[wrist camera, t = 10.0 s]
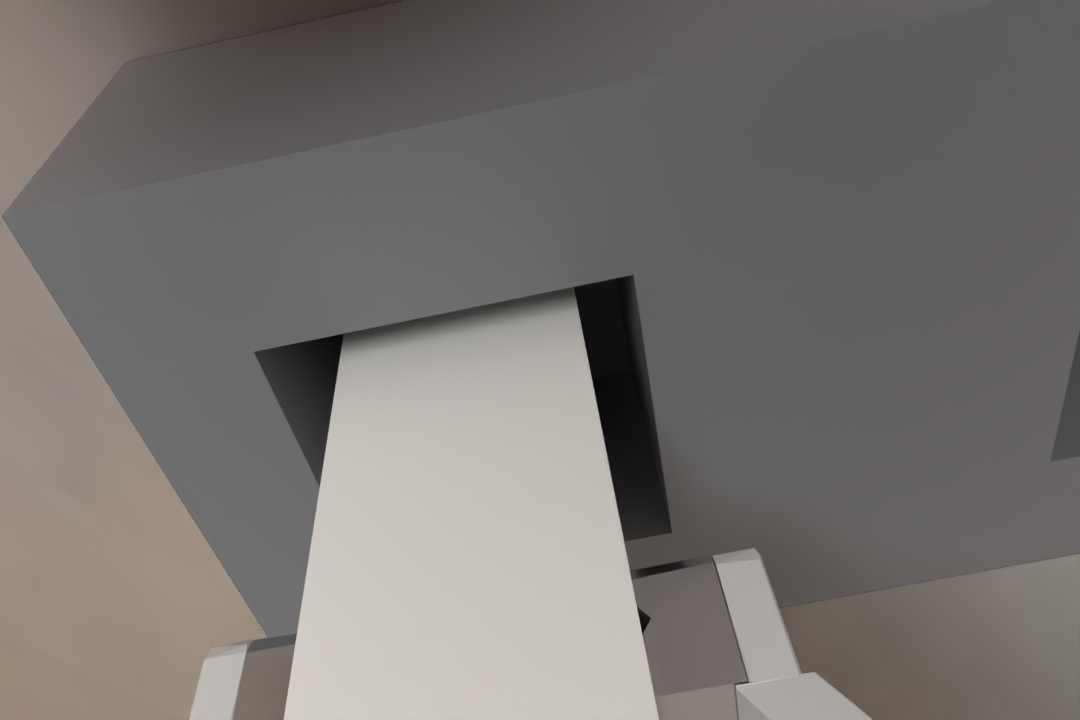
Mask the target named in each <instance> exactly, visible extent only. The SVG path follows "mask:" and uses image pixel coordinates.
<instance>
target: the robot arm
mask: <svg viewBox="0 0 1080 720" xmlns="http://www.w3.org/2000/svg"><path fill="white" fill-rule="evenodd" d="M630 574H631V579H632V585H633V590H634V595H635V600H636V605H637V610H638V615H639V620H640V625H641V630H642V635H643V640H644V645H645V650H646V655H647V660H648V665H649V670H650V676H651V681H652V686H653V691H654V696H655V701H656V706H657V711H658V716H659V720H873V719H872V718H871V717H870V716H869V715H867V714H866V713H865V712H864V711H863V710H861V709H860V708H859V707H858V706H856V705H855V704H854V703H853V702H852V701H850V700H849V699H848V698H847V697H846V696H844V695H843V694H842V693H841V692H839V691H838V690H837V689H836V688H835V687H833V686H832V685H831V684H830V683H829V682H827V681H826V680H825V679H824V678H822V677H821V676H820V675H819V674H818V673H816V672H809V673H801V670H800V667H799V664H798V661H797V658H796V655H795V652H794V650H793V647H792V644H791V641H790V638H789V635H788V632H787V630H786V627H785V624H784V621H783V618H782V615H781V612H780V609H779V607H778V604H777V601H776V598H775V595H774V592H773V589H772V586H771V584H770V581H769V578H768V575H767V572H766V569H765V566H764V564H763V561H762V558H761V555H760V554H759V553H758V551H757V550H756V549H755V548H750V549H744V550H739V551H734V552H729V553H724V554H719V555H714V556H712V557H710V555H707V556H702V557H697V558H692V559H687V560H682V561H677V562H672V563H667V564H662V565H657V566H652V567H647V568H642V569H637V570H632V571H630ZM296 637H297V634H290V635H284V636H278V637H272V638H265V639H259V640H252V641H247V642H241V643H236V644H230V645H224V646H219V647H213V648H212V649H211V650H210V652H209V654H208V655H207V657H206V659H205V660H204V662H203V665H202V669H201V673H200V677H199V681H198V685H197V689H196V693H195V697H194V701H193V705H192V709H191V713H190V717H189V720H284V714H285V707H286V701H287V695H288V688H289V682H290V675H291V669H292V663H293V656H294V650H295V643H296Z"/></svg>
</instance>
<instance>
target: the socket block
mask: <svg viewBox="0 0 1080 720" xmlns="http://www.w3.org/2000/svg"><path fill="white" fill-rule="evenodd" d="M2 218H3V219H4V221H5V222H6V224H7V226H8V227H9V229H10V230H11V232H12V233H13V235H14V237H15V238H16V240H17V241H18V243H19V244H20V246H21V248H22V249H23V251H24V252H25V254H26V256H27V257H28V259H29V260H30V262H31V263H32V265H33V267H34V268H35V270H36V271H37V273H38V275H39V276H40V278H41V279H42V281H43V282H44V284H45V286H46V287H47V289H48V290H49V292H50V294H51V295H52V297H53V298H54V300H55V301H56V303H57V305H58V306H59V308H60V309H61V311H62V312H63V314H64V316H65V317H66V319H67V320H68V322H69V324H70V325H71V327H72V328H73V330H74V331H75V333H76V335H77V336H78V338H79V339H80V341H81V343H82V344H83V346H84V347H85V349H86V350H87V352H88V354H89V355H90V357H91V358H92V360H93V362H94V363H95V365H96V366H97V368H98V369H99V371H100V373H101V374H102V376H103V377H104V379H105V380H106V382H107V384H108V385H109V387H110V388H111V390H112V392H113V393H114V395H115V396H116V398H117V399H118V401H119V403H120V404H121V406H122V407H123V409H124V411H125V412H126V414H127V415H128V417H129V418H130V420H131V422H132V423H133V425H134V426H135V428H136V430H137V431H138V433H139V434H140V436H141V437H142V439H143V441H144V442H145V444H146V445H147V447H148V448H149V450H150V452H151V453H152V455H153V456H154V458H155V460H156V461H157V463H158V464H159V466H160V467H161V469H162V471H163V472H164V474H165V475H166V477H167V479H168V480H169V482H170V483H171V485H172V486H173V488H174V490H175V491H176V493H177V494H178V496H179V497H180V499H181V501H182V502H183V504H184V505H185V507H186V509H187V510H188V512H189V513H190V515H191V516H192V518H193V520H194V521H195V523H196V524H197V526H198V528H199V529H200V531H201V532H202V534H203V535H204V537H205V539H206V540H207V542H208V543H209V545H210V547H211V548H212V550H213V551H214V553H215V554H216V556H217V558H218V559H219V561H220V562H221V564H222V565H223V567H224V569H225V570H226V572H227V573H228V575H229V577H230V578H231V580H232V581H233V583H234V584H235V586H236V588H237V589H238V591H239V592H240V594H241V596H242V597H243V599H244V600H245V602H246V603H247V605H248V607H249V608H250V610H251V611H252V613H253V615H254V616H255V618H256V619H257V621H258V622H259V624H260V626H261V627H262V629H263V630H264V632H265V633H266V635H267V637H268V638H272V637H278V636H284V635H290V634H297V630H298V624H299V618H300V611H301V605H302V598H303V592H304V585H305V579H306V573H307V566H308V560H309V553H310V547H311V541H312V534H313V528H314V521H315V515H316V508H317V502H318V496H319V489H320V483H321V476H322V470H323V463H324V457H325V451H326V444H327V438H328V431H329V425H330V419H331V412H332V406H333V399H334V393H335V386H336V380H337V374H338V367H339V361H340V354H341V348H342V341H343V335H344V333H349V332H354V331H359V330H364V329H369V328H374V327H379V326H384V325H389V324H394V323H399V322H404V321H408V320H413V319H418V318H423V317H428V316H433V315H438V314H443V313H448V312H453V311H458V310H463V309H468V308H472V307H477V306H482V305H487V304H492V303H497V302H502V301H507V300H512V299H517V298H522V297H527V296H532V295H537V294H541V293H546V292H551V291H556V290H561V289H566V288H571V287H574V291H575V296H576V301H577V306H578V311H579V316H580V321H581V326H582V331H583V336H584V341H585V346H586V351H587V356H588V361H589V366H590V371H591V376H592V381H593V386H594V391H595V396H596V401H597V406H598V411H599V416H600V421H601V426H602V431H603V436H604V442H605V447H606V452H607V457H608V462H609V467H610V472H611V477H612V482H613V487H614V492H615V497H616V502H617V507H618V512H619V517H620V522H621V527H622V532H623V537H624V542H625V547H626V553H627V558H628V563H629V568H630V571H632V570H637V569H642V568H647V567H652V566H657V565H662V564H667V563H672V562H677V561H682V560H687V559H692V558H697V557H702V556H707V555H710V557H712V556H714V555H719V554H724V553H729V552H734V551H739V550H744V549H750V548H755V549H756V550H757V551H758V553H759V554H760V555H761V558H762V561H763V564H764V566H765V569H766V572H767V575H768V578H769V581H770V584H771V586H772V589H773V592H774V595H775V598H776V601H777V604H778V607H779V608H783V607H789V606H794V605H800V604H805V603H811V602H816V601H822V600H827V599H833V598H838V597H844V596H849V595H855V594H860V593H866V592H871V591H877V590H882V589H888V588H893V587H899V586H904V585H910V584H915V583H921V582H926V581H932V580H937V579H943V578H948V577H954V576H959V575H965V574H970V573H976V572H981V571H987V570H992V569H998V568H1003V567H1009V566H1014V565H1020V564H1025V563H1031V562H1037V561H1042V560H1048V559H1053V558H1059V557H1064V556H1070V555H1075V554H1080V0H404V1H400V2H395V3H391V4H386V5H382V6H377V7H373V8H368V9H364V10H359V11H355V12H350V13H346V14H341V15H337V16H332V17H328V18H323V19H319V20H314V21H310V22H305V23H301V24H296V25H292V26H287V27H283V28H278V29H274V30H269V31H265V32H260V33H256V34H251V35H247V36H242V37H238V38H233V39H229V40H224V41H220V42H216V43H211V44H207V45H202V46H198V47H193V48H189V49H184V50H180V51H175V52H171V53H166V54H162V55H157V56H153V57H148V58H144V59H139V60H135V61H130V62H126V63H124V65H123V66H122V67H121V68H120V70H119V71H118V72H117V73H116V75H115V76H114V77H113V78H112V80H111V81H110V82H109V83H108V85H107V86H106V87H105V88H104V90H103V91H102V92H101V93H100V95H99V96H98V97H97V98H96V100H95V101H94V102H93V103H92V105H91V106H90V107H89V108H88V109H87V111H86V112H85V113H84V114H83V116H82V117H81V118H80V119H79V121H78V122H77V123H76V124H75V126H74V127H73V128H72V129H71V131H70V132H69V133H68V134H67V136H66V137H65V138H64V139H63V141H62V142H61V143H60V144H59V146H58V147H57V148H56V149H55V151H54V152H53V153H52V154H51V156H50V157H49V158H48V159H47V161H46V162H45V163H44V164H43V165H42V167H41V168H40V169H39V170H38V172H37V173H36V174H35V175H34V177H33V178H32V179H31V180H30V182H29V183H28V184H27V185H26V187H25V188H24V189H23V190H22V192H21V193H20V194H19V195H18V197H17V198H16V199H15V200H14V202H13V203H12V204H11V205H10V207H9V208H8V209H7V210H6V212H5V213H4V214H3V215H2Z"/></svg>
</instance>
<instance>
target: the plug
mask: <svg viewBox="0 0 1080 720" xmlns="http://www.w3.org/2000/svg"><path fill="white" fill-rule="evenodd" d="M284 720H659V716H658V711H657V706H656V701H655V696H654V691H653V686H652V681H651V676H650V670H649V665H648V660H647V655H646V650H645V645H644V640H643V635H642V630H641V625H640V620H639V615H638V610H637V605H636V600H635V595H634V590H633V585H632V579H631V574H630V568H629V563H628V558H627V553H626V547H625V542H624V537H623V532H622V527H621V522H620V517H619V512H618V507H617V502H616V497H615V492H614V487H613V482H612V477H611V472H610V467H609V462H608V457H607V452H606V447H605V442H604V436H603V431H602V426H601V421H600V416H599V411H598V406H597V401H596V396H595V391H594V386H593V381H592V376H591V371H590V366H589V361H588V356H587V351H586V346H585V341H584V336H583V331H582V326H581V321H580V316H579V311H578V306H577V301H576V296H575V291H574V287H571V288H566V289H561V290H556V291H551V292H546V293H541V294H537V295H532V296H527V297H522V298H517V299H512V300H507V301H502V302H497V303H492V304H487V305H482V306H477V307H472V308H468V309H463V310H458V311H453V312H448V313H443V314H438V315H433V316H428V317H423V318H418V319H413V320H408V321H404V322H399V323H394V324H389V325H384V326H379V327H374V328H369V329H364V330H359V331H354V332H349V333H344V335H343V341H342V348H341V354H340V361H339V367H338V374H337V380H336V386H335V393H334V399H333V406H332V412H331V419H330V425H329V431H328V438H327V444H326V451H325V457H324V463H323V470H322V476H321V483H320V489H319V496H318V502H317V508H316V515H315V521H314V528H313V534H312V541H311V547H310V553H309V560H308V566H307V573H306V579H305V585H304V592H303V598H302V605H301V611H300V618H299V624H298V630H297V637H296V643H295V650H294V656H293V663H292V669H291V675H290V682H289V688H288V695H287V701H286V707H285V714H284Z"/></svg>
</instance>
